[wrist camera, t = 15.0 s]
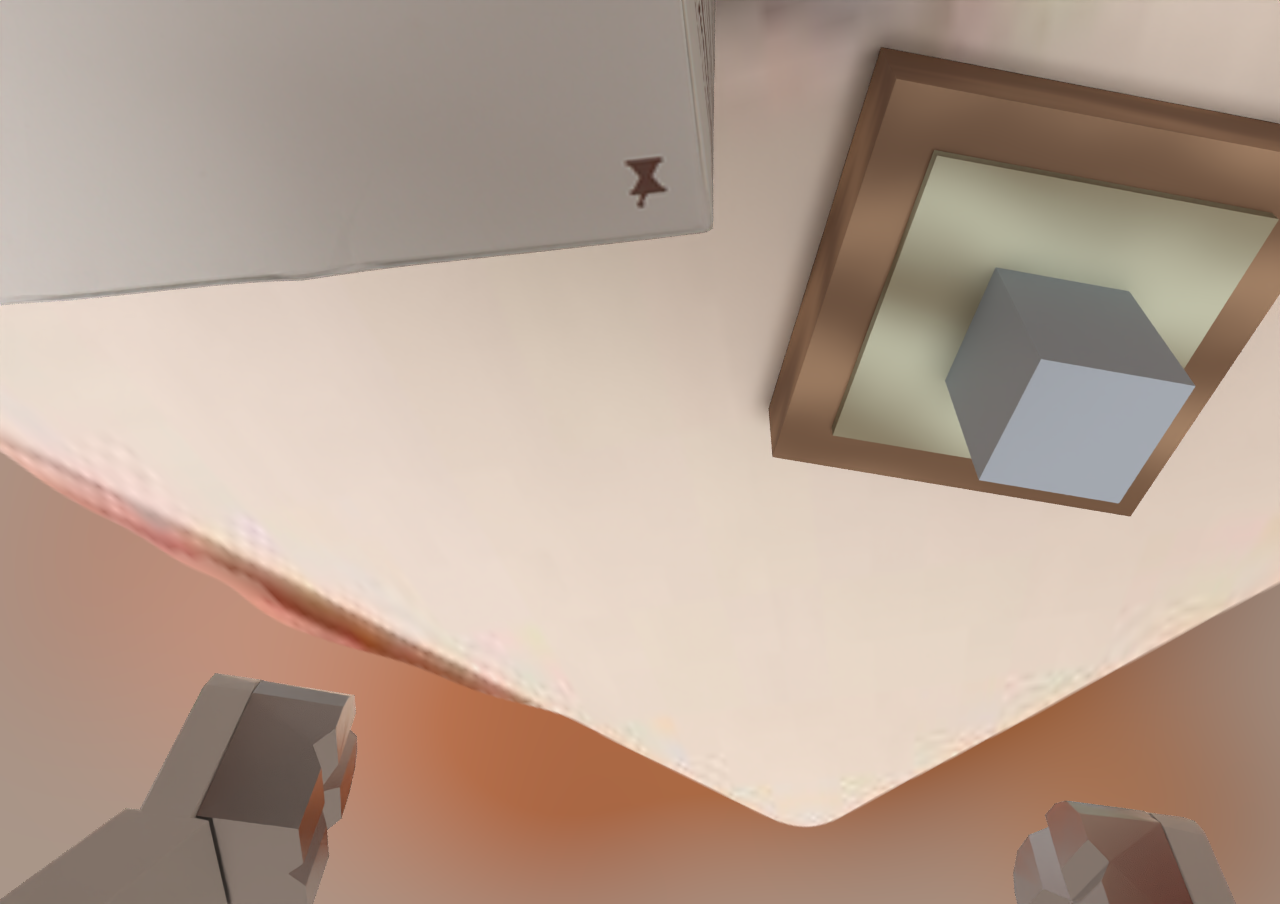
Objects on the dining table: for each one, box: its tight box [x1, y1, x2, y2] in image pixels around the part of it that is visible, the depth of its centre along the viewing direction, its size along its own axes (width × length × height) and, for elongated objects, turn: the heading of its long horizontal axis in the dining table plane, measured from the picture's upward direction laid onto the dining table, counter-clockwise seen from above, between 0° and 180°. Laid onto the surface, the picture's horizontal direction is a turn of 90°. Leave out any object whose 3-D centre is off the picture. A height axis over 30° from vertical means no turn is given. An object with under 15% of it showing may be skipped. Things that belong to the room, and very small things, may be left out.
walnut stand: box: [769, 47, 1280, 516], centre depth 37 cm, size 16×16×4 cm
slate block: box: [945, 267, 1195, 503], centre depth 33 cm, size 5×5×6 cm
